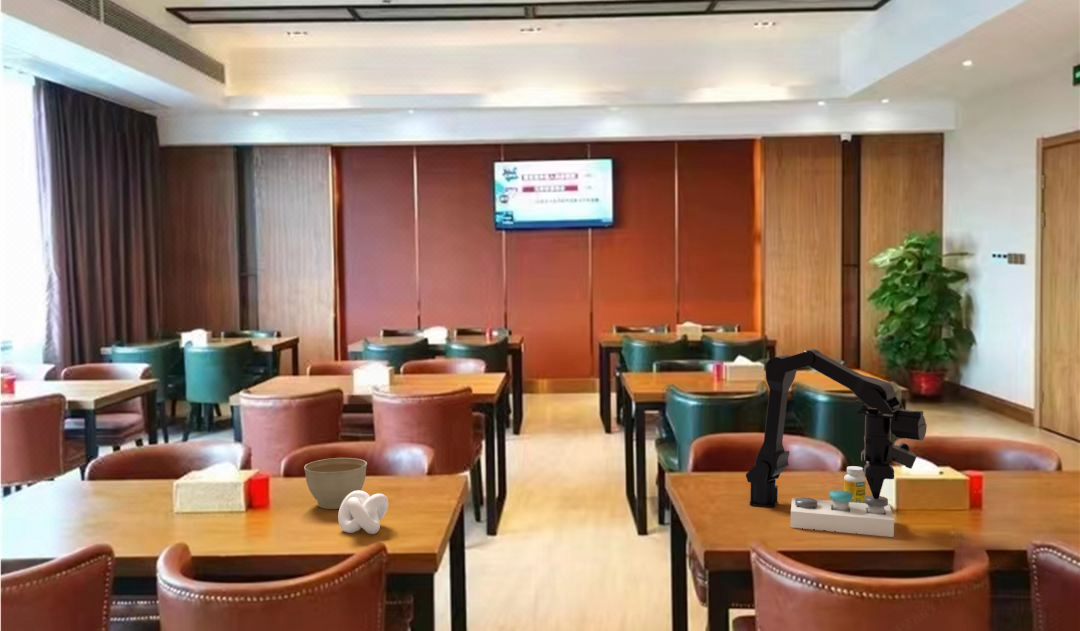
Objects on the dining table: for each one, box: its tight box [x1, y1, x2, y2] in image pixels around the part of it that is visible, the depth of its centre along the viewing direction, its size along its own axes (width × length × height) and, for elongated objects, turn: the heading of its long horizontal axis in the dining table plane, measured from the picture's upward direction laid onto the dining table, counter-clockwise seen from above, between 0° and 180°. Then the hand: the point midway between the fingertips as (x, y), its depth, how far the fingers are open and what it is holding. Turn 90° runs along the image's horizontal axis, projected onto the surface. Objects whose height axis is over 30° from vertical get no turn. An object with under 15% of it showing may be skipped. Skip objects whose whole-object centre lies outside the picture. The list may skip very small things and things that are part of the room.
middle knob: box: [829, 489, 852, 511], centre depth 203 cm, size 5×5×5 cm
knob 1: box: [795, 497, 817, 509], centre depth 206 cm, size 5×5×5 cm
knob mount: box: [790, 496, 895, 538], centre depth 203 cm, size 23×12×4 cm, turn 72°
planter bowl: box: [303, 457, 368, 510], centre depth 222 cm, size 16×16×11 cm
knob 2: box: [865, 494, 889, 515], centre depth 200 cm, size 5×5×5 cm
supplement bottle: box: [843, 465, 867, 503], centre depth 220 cm, size 5×5×10 cm
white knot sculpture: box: [337, 490, 389, 535], centre depth 200 cm, size 11×12×9 cm
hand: (876, 498), depth 200 cm, fingers closed, pressing on knob 2
